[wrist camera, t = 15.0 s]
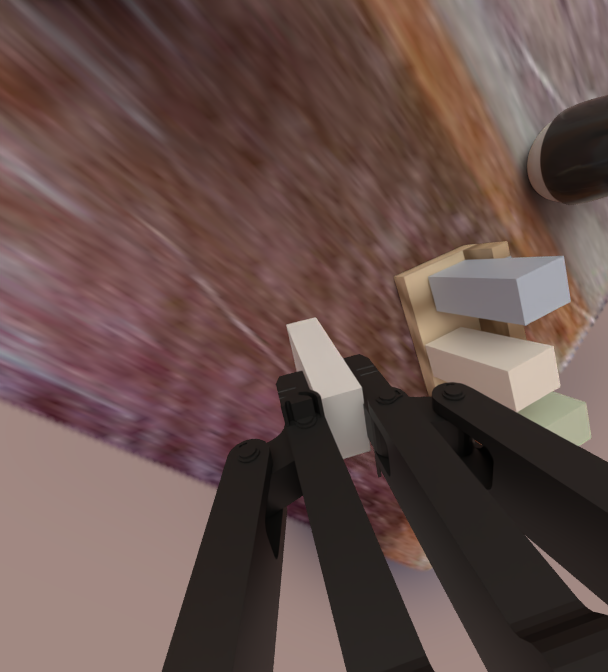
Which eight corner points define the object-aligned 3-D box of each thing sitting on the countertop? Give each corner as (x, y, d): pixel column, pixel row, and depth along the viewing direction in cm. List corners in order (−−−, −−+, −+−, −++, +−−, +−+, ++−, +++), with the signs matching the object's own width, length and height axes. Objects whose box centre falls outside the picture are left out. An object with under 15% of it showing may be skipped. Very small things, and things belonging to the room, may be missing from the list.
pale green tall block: (457, 388, 42) (545, 427, 31) (490, 370, 43) (586, 402, 32) (465, 417, 43) (552, 463, 33) (497, 398, 44) (591, 438, 34)
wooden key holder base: (393, 276, 39) (430, 277, 33) (464, 245, 41) (510, 240, 35) (437, 426, 45) (475, 450, 39) (498, 391, 47) (543, 409, 41)
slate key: (427, 276, 38) (516, 279, 28) (465, 259, 39) (563, 255, 29) (436, 311, 39) (525, 325, 29) (472, 293, 40) (570, 301, 30)
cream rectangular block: (424, 345, 39) (507, 371, 29) (460, 326, 40) (553, 346, 30) (433, 376, 40) (516, 412, 30) (468, 357, 41) (560, 386, 31)
